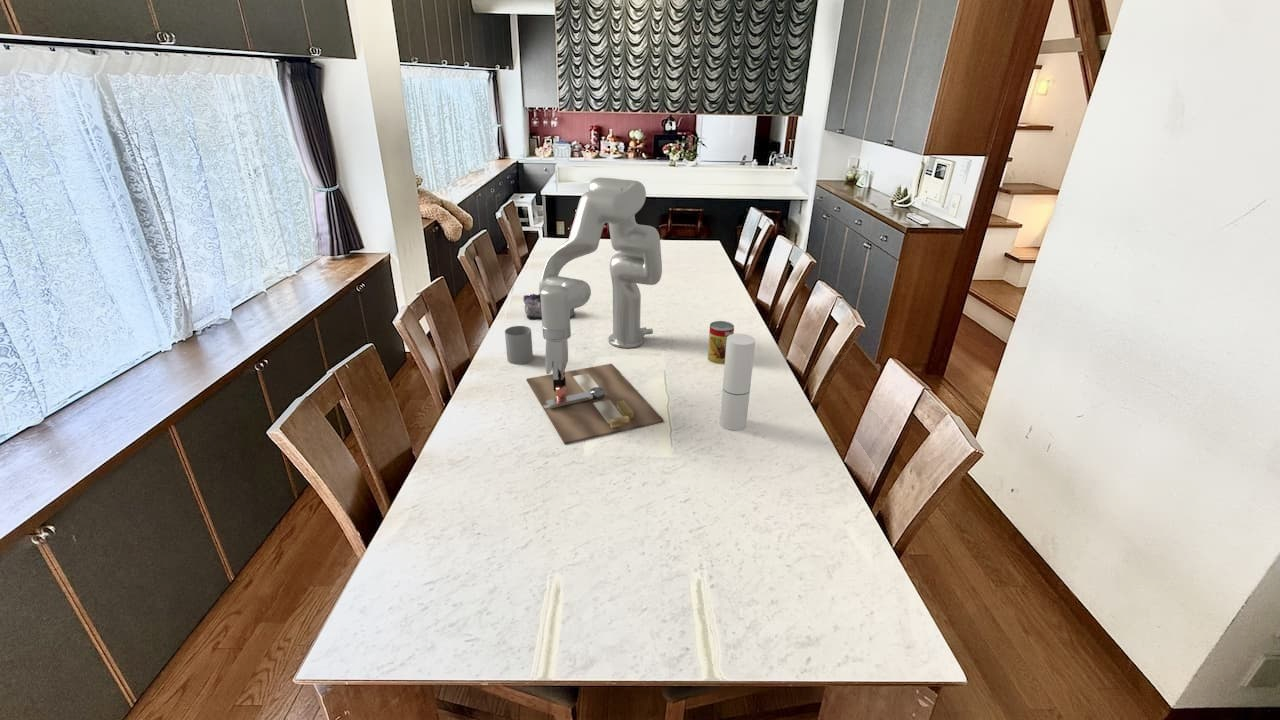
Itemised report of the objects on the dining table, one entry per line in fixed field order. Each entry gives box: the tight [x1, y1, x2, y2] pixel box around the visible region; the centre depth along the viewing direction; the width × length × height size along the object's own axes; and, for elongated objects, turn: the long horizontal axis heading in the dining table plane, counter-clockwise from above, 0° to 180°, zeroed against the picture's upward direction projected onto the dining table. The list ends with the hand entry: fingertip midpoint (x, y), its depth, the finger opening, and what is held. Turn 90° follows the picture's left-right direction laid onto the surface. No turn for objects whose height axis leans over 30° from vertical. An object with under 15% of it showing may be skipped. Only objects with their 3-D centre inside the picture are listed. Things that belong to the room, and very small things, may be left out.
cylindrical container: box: [719, 333, 756, 431], centre depth 157 cm, size 7×7×25 cm
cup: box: [504, 325, 534, 365], centre depth 195 cm, size 8×8×10 cm
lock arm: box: [546, 385, 604, 409], centre depth 169 cm, size 17×4×5 cm, turn 117°
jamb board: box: [526, 363, 664, 445], centre depth 172 cm, size 28×38×3 cm
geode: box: [522, 293, 576, 319], centre depth 231 cm, size 20×12×10 cm, turn 90°
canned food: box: [707, 320, 735, 365], centre depth 197 cm, size 8×8×12 cm
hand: (559, 390), depth 171 cm, fingers closed
